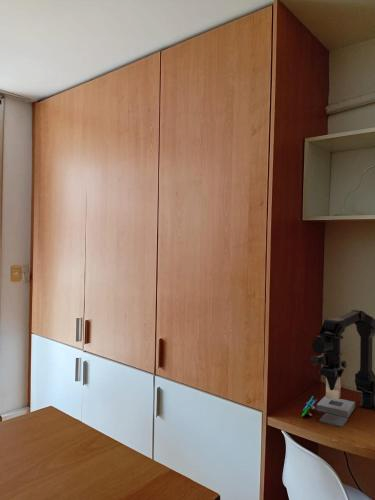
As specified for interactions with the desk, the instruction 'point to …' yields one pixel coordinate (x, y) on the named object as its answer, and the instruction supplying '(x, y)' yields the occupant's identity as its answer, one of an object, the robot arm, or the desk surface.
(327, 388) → the cream block
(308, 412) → the stick construction toy
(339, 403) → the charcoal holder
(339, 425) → the dark gray panel
